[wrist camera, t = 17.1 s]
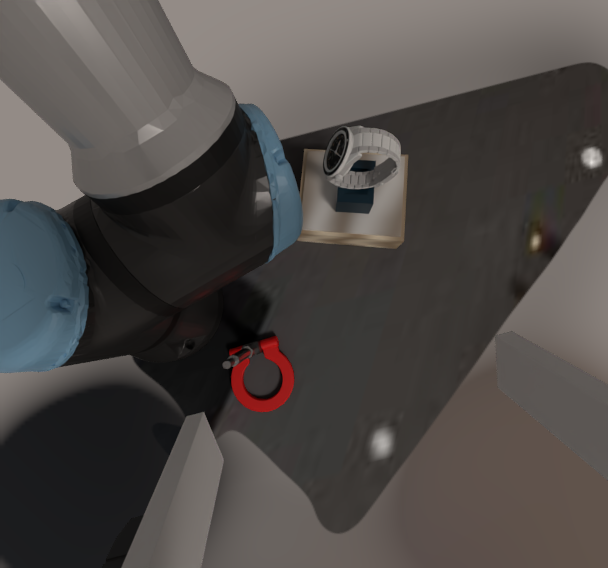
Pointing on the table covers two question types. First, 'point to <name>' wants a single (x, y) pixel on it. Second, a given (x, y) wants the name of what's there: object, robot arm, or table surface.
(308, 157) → the plate
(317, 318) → the table surface
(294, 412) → the table surface
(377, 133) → the watch
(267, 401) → the tow hook
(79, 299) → the robot arm
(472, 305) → the table surface
